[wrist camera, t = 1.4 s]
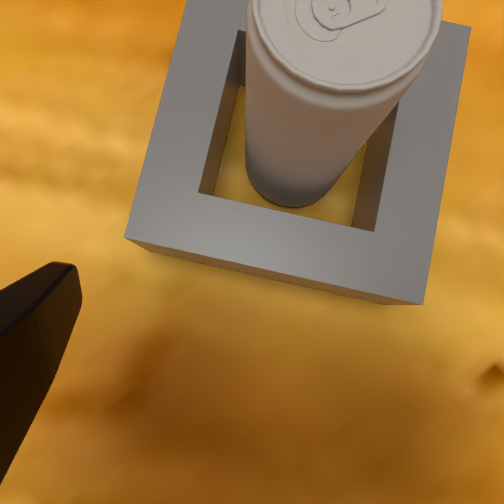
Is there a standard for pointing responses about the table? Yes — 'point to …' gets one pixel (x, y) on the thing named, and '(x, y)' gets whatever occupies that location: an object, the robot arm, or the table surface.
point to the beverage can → (325, 85)
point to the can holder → (286, 224)
